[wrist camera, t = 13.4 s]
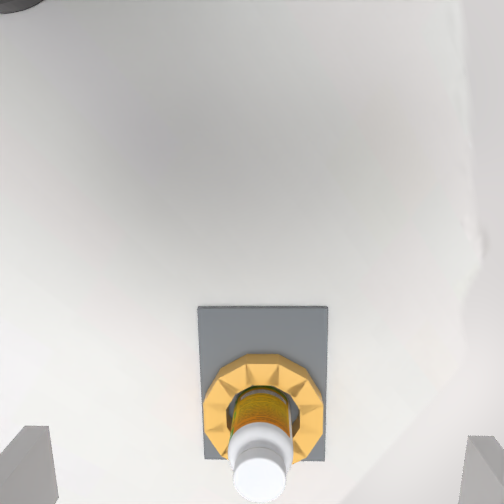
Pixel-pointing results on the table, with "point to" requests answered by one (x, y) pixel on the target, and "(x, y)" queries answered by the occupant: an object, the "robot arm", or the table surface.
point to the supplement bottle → (261, 443)
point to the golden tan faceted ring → (264, 373)
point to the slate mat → (264, 349)
